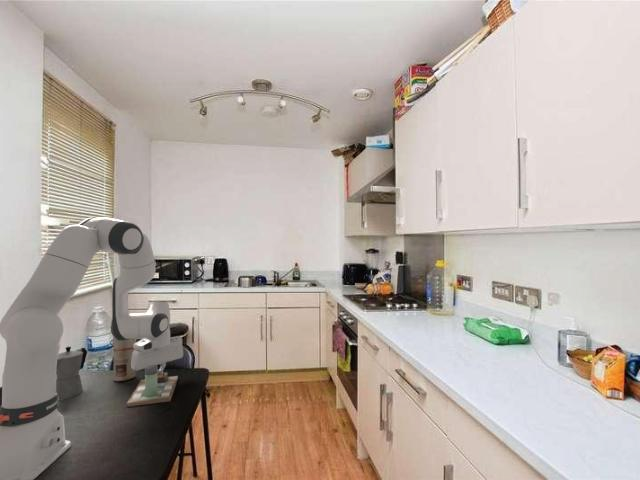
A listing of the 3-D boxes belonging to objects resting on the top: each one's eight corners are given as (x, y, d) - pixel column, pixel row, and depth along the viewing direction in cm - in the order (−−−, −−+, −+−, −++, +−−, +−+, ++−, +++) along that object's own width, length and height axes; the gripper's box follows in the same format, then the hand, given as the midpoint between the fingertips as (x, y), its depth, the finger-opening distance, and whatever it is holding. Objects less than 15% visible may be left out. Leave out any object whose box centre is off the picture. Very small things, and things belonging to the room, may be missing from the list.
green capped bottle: (151, 398, 119) (151, 369, 120) (142, 396, 121) (142, 368, 121) (160, 393, 123) (160, 365, 124) (151, 391, 125) (151, 364, 125)
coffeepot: (64, 402, 120) (64, 352, 121) (40, 401, 121) (40, 351, 122) (97, 385, 135) (97, 340, 136) (75, 384, 136) (75, 340, 137)
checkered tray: (170, 401, 120) (170, 391, 120) (126, 406, 116) (126, 397, 116) (177, 378, 141) (177, 371, 141) (141, 383, 137) (141, 375, 137)
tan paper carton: (108, 381, 140) (108, 333, 140) (124, 374, 148) (124, 328, 148) (123, 383, 137) (124, 334, 138) (140, 375, 145) (140, 329, 146)
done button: (162, 381, 135) (162, 375, 135) (152, 382, 134) (152, 377, 134) (163, 377, 138) (163, 372, 138) (154, 378, 137) (154, 373, 137)
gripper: (178, 334, 147) (178, 366, 146) (128, 345, 130) (128, 381, 130) (186, 336, 143) (186, 368, 143) (136, 347, 127) (136, 384, 126)
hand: (158, 374), depth 136 cm, fingers closed, pressing on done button
